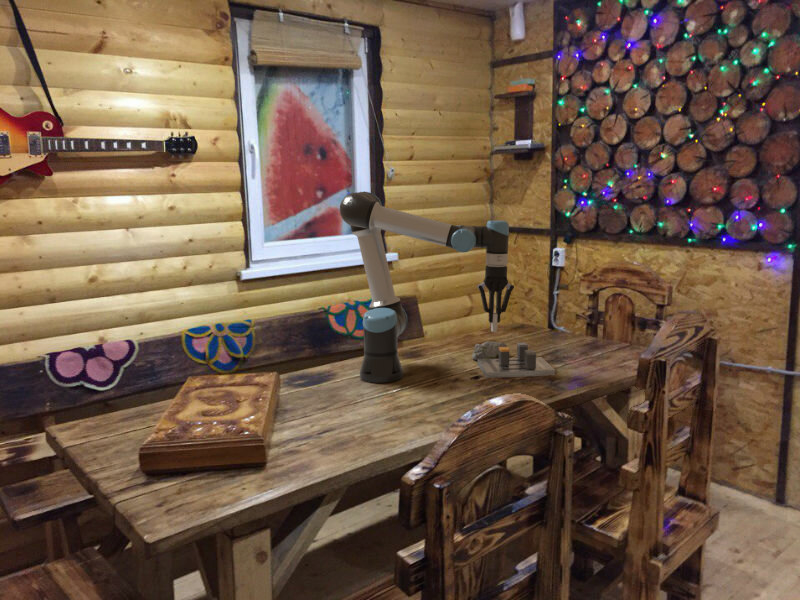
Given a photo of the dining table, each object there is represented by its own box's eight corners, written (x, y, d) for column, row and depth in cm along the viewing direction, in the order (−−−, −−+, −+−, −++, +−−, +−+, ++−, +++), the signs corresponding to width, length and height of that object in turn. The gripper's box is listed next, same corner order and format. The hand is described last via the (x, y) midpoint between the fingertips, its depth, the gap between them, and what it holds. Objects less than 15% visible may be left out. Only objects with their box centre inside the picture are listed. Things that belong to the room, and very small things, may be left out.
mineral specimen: (497, 353, 257) (497, 336, 256) (509, 357, 251) (509, 340, 250) (465, 358, 250) (465, 341, 248) (476, 363, 243) (476, 345, 242)
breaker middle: (500, 365, 231) (501, 349, 230) (498, 362, 234) (498, 347, 233) (509, 365, 231) (509, 349, 230) (506, 362, 235) (507, 346, 234)
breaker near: (527, 369, 226) (527, 352, 225) (524, 366, 230) (524, 350, 228) (535, 368, 226) (536, 352, 225) (533, 365, 230) (533, 349, 229)
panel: (486, 378, 224) (486, 372, 224) (477, 364, 241) (477, 359, 241) (555, 375, 226) (555, 369, 225) (541, 362, 242) (541, 356, 242)
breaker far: (519, 360, 237) (519, 345, 236) (517, 357, 240) (517, 342, 239) (527, 360, 237) (527, 344, 236) (525, 357, 240) (525, 342, 239)
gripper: (480, 266, 222) (477, 334, 226) (517, 266, 223) (514, 333, 228) (475, 263, 229) (473, 329, 234) (512, 263, 231) (509, 328, 235)
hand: (493, 331), depth 231 cm, fingers closed
